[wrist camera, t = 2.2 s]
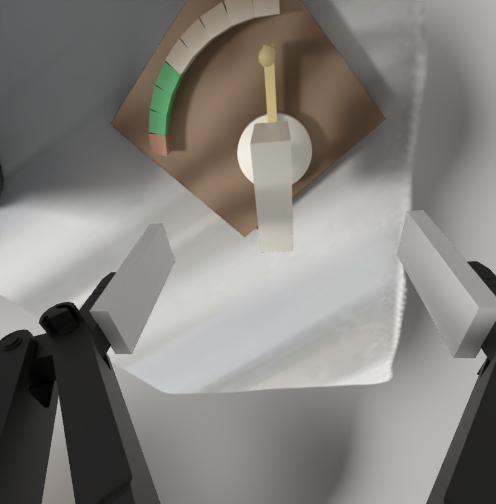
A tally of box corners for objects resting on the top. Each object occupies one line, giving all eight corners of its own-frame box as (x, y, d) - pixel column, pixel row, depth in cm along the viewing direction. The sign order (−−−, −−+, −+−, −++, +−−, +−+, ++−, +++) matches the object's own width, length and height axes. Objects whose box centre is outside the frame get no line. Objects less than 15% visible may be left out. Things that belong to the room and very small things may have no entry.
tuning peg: (243, 192, 31) (230, 253, 22) (225, 49, 24) (196, 57, 15) (310, 187, 30) (324, 249, 21) (313, 38, 23) (337, 39, 14)
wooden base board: (119, 119, 30) (102, 128, 27) (242, -77, 21) (237, -94, 18) (246, 228, 36) (243, 244, 34) (379, 114, 28) (391, 122, 25)
